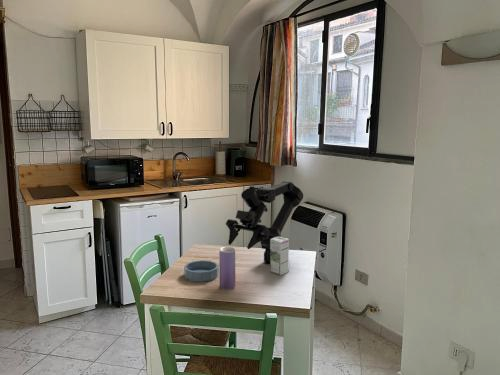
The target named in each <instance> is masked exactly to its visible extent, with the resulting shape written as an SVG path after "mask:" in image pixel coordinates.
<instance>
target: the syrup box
mask: <svg viewBox="0 0 500 375" xmlns="http://www.w3.org/2000/svg"><path fill="white" fill-rule="evenodd" d="M289 240H290V239H289V238H285V237H283V236H281V237H279V236H278V237H274V238H272V239H270V264H269V265H270V266H269V267H270V270H269V271H270V273H273V274H276V275H279V276H283V275H284V274H287V273H289V268H290V267H289V263H290V262H289V261H290V260H289V258H290V257H289V252H290V250H289V248H290V243H289V242H290V241H289Z"/></svg>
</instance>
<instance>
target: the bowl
mask: <svg viewBox="0 0 500 375" xmlns="http://www.w3.org/2000/svg"><path fill="white" fill-rule="evenodd" d="M183 274H184V278H185V279H186V280H187V281H190V282H194V283H203V282H204V283H205V282H206V283H207V282H210V281H213V280H216V279H217V278H218V277H219V274H220V267H219V263H217V261H212V260H206V259H205V260H204V259H202V260H194V261H193V260H192V261H190V262H187V263H186V264H185V265H184V266H183Z"/></svg>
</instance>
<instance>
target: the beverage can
mask: <svg viewBox="0 0 500 375" xmlns="http://www.w3.org/2000/svg"><path fill="white" fill-rule="evenodd" d="M218 255H219V256H218V257H219V259H218V260H219V261H218V262H219V263H218V265H219V287H220V289H221V290H224V291H230V290H233V289H235V287H236V249H235V248H234V247H232V246H226V247H225V246H224V247H221V248H220V249H219V253H218Z"/></svg>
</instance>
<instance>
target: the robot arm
mask: <svg viewBox="0 0 500 375" xmlns="http://www.w3.org/2000/svg"><path fill="white" fill-rule="evenodd" d="M281 195H282V196H283V204H282V205H281V207H280V209H279V211H278V213H277V215H276V217H275V219H274V221H273V223H272V224H271V226H270V227H268V226H266V225H264V224H261V223H262V216H263V215H264V212H265V213H268V207H267V206H268V205H267V204H272V203H273V201H275V200H276V197H278V196H281ZM240 196H241V198H242V200H243V201H244V202H245V204H246V206H247V207H248V208H249V210H248V211H246V210H241V209H240V210H239V209H237V212H236V215H235V219H230V218H229V219H227V220H226V222H225V225H226V227H227V228H228V230H229V235H228V243H227V244H228V245H229V246H231V245H232V244H233V243H234V241H235V240H236V238H237V237H238V236H239V234H240V233H239V232H240V231H241V230H243V231H248V232H252V236H251V238H250V241H249V242H248V244H247V247H246V248H247V250H250V249H251V248H252V247H254V246H255V245H257V244H258V243H260V245H261V246H260V247H261V249H264V251H263V262H264V265H270V239H272V238H274V237H278V236H279V237H282V232H283V229H284V227H285V225H286V223H287V222H288V220H289V217H290V215H291V214H292V212H293V209H295V208H296V207H297V206H299V205H300V203H301V202H302V200H303V199H304V193H303V191H302V190H301V189H300V187H298V186H296V185H295V184H294V182H293V181H287V180H286V181H285V180H284V181H281V182H280V183H277V184H274V185H273V186H270V187H258V188H257V189H256V187H255V186H249V187H248V188H246V189H245V190H243V191H242V192H241V195H240ZM265 203H266V204H265ZM236 219H238V220H239V222H240V223H239V222H238V221H237V220H236Z"/></svg>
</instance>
